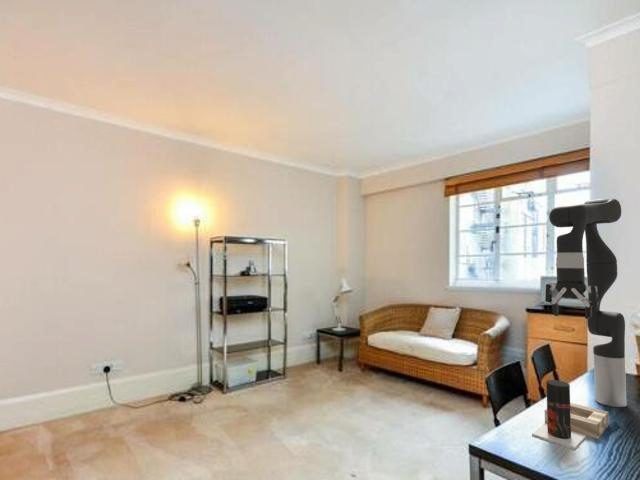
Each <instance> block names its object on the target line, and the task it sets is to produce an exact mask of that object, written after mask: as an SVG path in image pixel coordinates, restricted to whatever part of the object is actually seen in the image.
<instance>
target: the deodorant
mask: <svg viewBox="0 0 640 480" xmlns="http://www.w3.org/2000/svg"><path fill="white" fill-rule="evenodd" d="M545 385H546V409H547V428H548V434H550V435H551V436H553V437H556V438H560V439H570V438H571V415H570V402H571V389H570V388H571V385H570V383H568V382H565V381H563V380H555V379H547V380H546V383H545Z"/></svg>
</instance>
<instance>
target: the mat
mask: <svg viewBox="0 0 640 480" xmlns="http://www.w3.org/2000/svg"><path fill="white" fill-rule="evenodd" d="M531 436H532V437H534V438H537V439H538V438H539V439H541V440H545V441H547V442H550V443H553V444H556V445H560V446H563V447H566V448H569V449H571V450H573V451H574V450H576V449H577V448H578V447H579V446H580V445H581V443H583V442H584V440H585V439H586V438H587V435H584V434H581V433H577V432H574V431H571V438H570V439H560V438H556V437H553V436H551V435H550V434H548V428H547V423H545V422H544V423H543V424H542V425H540V426H539V427H538V428H537V429H536V430H534V431H533V432H532V433H531Z"/></svg>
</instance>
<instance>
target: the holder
mask: <svg viewBox="0 0 640 480" xmlns="http://www.w3.org/2000/svg"><path fill="white" fill-rule="evenodd" d="M609 414H610V412H609V411H606V410H602V409H600V408H599V409H598V408H594V407H591V406H586V405H582V404H578V403H574V402H571V401H570V415H571V431H574V432H577V433H581V434H584V435H586V437H587V436H588V437H591V438H594V439H599V438H600V437H601V435H602V434H603V433H604V431H605V430H607V428H608V427H609V426H610V415H609ZM544 423H547V408H545V410H544Z"/></svg>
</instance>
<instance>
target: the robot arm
mask: <svg viewBox="0 0 640 480" xmlns="http://www.w3.org/2000/svg"><path fill="white" fill-rule="evenodd" d="M621 217H622V205H621V203H620V201H619V200H617V199H616V198H613V197H611V198H610V197H609V198H608V197H607V198H606V197H605V198H600V199H590V200H586V201H585V202H584V203H579V204H570V205H561V206H560V205H559V206H555V207H554V208H552V209H551V210H550V212H549V215H548V219H549V222H550V224H551V225H552V226H554V227H556V228H571V227H572V229H571V230H570V232H567V233H564V234H560V235H558V236H557V237H556V259H555V261H556V263H555V266H556V269H555V270H556V284H552V283H547V284H545V298H544V299H545V302H546V303H550V304H551V306H552V307H551V308H552V309H551V310H552V314H553V315H554V317H559V316H560V308H559V306H560V305H559V304H558V303H559V302H560V301H561V300H562V299H563V298H564V299H572V300H577V299H579V301H580V302H581V303H582V304H583V305H584V306H585V307H584V316H585V318H584V319H585V320H587V321H586V322H587V329H588V332H589V333H590V335H595V336H599V337H600V336H601V337H607V338H611V341H609V342H607V343H603V344H601V343H600V344H596V345H594V346H593V349H592V350H593V376H594V377H593V378H594V401H596V402H597V403H599V404H600V405H604V406H608V407H615V408H626V407H627V405H628V404H627V403H628V402H627V384H626V383H627V381H626V379H627V377H626V376H627V375H626V358H625V357H626V354H625V353H626V352H625V350H626V349H625V347H626V346H625V345H626V343H625V340H626V338H625V337H626V335H625V334H626V321H625V320H626V319H625V317H624V315H623V314H622V313H621V312H616V311H606V310H601V303H602V300H603V298H604V296H605V294H607V292H608V291H609V290H610V288H611V287H612V286H613V284H614V283H615V282H616V280H617V278H618V260H617V257H616V255H615V253H614V252H613V251H612V250H611V249H610V247H609V246H608V245H607V244H606V242H605V241H604V240H603V239H602V237H601V235H600V232H599V230H598V226H597V224H598V225H600V224H612V223H615V222H618V221H619V219H621ZM584 235H585V245H586V246H585V248H586V250H585V251H586V258H584V248H583V239H584ZM585 259H586V260H585ZM585 261H586V262H585ZM585 263H586V277H585ZM585 278H586V279H587V285H586V281H585V280H586V279H585ZM555 289H556V291H557V292H558V293H557V294H556V295H555V297H554V298H553V291H554V290H555ZM586 291H587V296H586V295H585V294H584V293H585V292H586Z"/></svg>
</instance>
